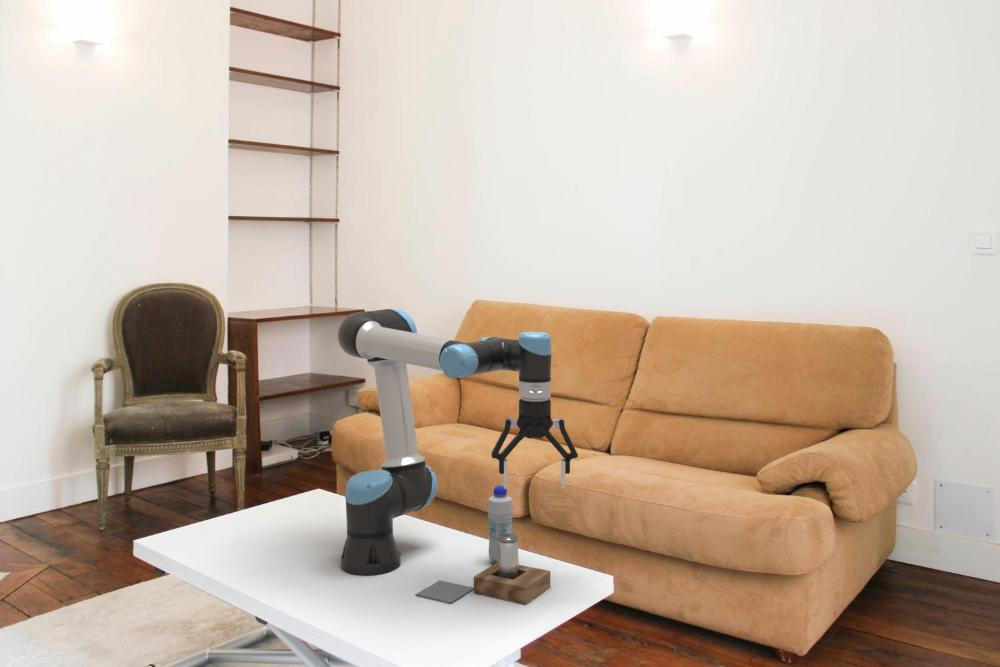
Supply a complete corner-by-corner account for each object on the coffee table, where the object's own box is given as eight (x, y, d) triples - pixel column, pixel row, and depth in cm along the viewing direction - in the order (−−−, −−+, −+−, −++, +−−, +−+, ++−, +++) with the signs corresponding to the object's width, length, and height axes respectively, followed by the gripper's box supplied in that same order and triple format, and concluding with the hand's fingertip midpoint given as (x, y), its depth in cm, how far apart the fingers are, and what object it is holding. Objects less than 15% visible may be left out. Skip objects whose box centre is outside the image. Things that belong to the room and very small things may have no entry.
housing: (473, 593, 215) (473, 576, 215) (499, 576, 225) (499, 560, 225) (525, 604, 208) (525, 587, 207) (550, 587, 218) (550, 570, 218)
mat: (415, 595, 214) (415, 594, 214) (439, 581, 222) (439, 580, 222) (451, 604, 209) (451, 602, 209) (474, 589, 217) (474, 587, 217)
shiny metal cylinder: (495, 590, 216) (494, 538, 215) (505, 584, 220) (504, 532, 219) (512, 594, 214) (511, 541, 213) (521, 588, 218) (521, 535, 216)
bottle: (511, 567, 232) (510, 490, 229) (485, 565, 233) (484, 488, 231) (516, 558, 238) (515, 482, 236) (491, 556, 239) (490, 481, 237)
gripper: (481, 401, 210) (481, 491, 213) (589, 401, 211) (588, 491, 213) (481, 395, 218) (481, 482, 220) (586, 395, 218) (585, 482, 220)
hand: (534, 487), depth 217 cm, fingers open, 13 cm apart
